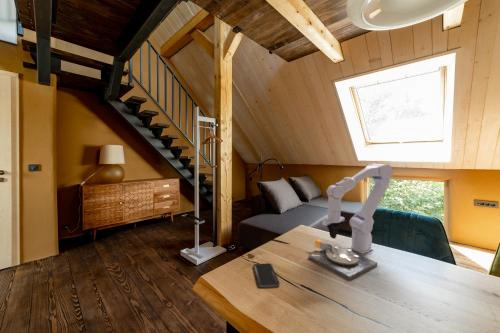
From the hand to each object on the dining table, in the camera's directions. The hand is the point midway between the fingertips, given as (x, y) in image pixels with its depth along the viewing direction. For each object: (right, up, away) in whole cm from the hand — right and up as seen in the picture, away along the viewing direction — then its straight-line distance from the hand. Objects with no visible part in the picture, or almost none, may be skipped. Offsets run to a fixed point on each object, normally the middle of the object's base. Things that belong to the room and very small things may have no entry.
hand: (333, 237), depth 104 cm
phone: (-35, -8, -22) cm, 42 cm away
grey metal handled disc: (-2, -5, -7) cm, 9 cm away
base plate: (0, -7, -10) cm, 13 cm away
